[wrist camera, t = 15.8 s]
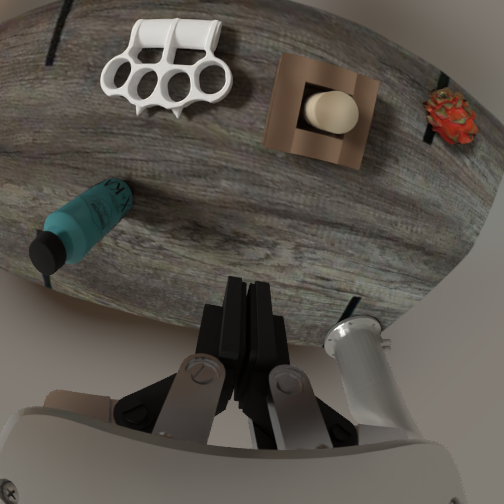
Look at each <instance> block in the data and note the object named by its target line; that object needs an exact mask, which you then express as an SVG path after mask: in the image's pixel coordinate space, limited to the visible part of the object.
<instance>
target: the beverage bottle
mask: <svg viewBox="0 0 504 504" xmlns="http://www.w3.org/2000/svg"><path fill="white" fill-rule="evenodd" d="M90 188H91V187H90ZM85 191H86V190H85ZM80 194H81V193H80ZM74 198H75V197H74ZM131 205H132V193H131V190H130V188H129V187H128V185H127V184H126V183H125V182H123V181H122V180H120V179H117V178H109V179H107V180H104V181H102V182H99V183H97V185H96V186H95V185H94V187H93V186H92V188H91V189H89V190H87V191H86V192H84V193H82V194H81V195H79V196H77V197H76V198H75V199H73V200H72V201H70V202H69V203H67V204H66V205H64V206H63V207H61V208H60V209H58V210H57V211H55V212H53V213H51V214H50V215H49V216H48V217H47V219H46V221H45V224H44V231H43V232H41V233H40V234H39V235H38V236H37V237H36V239H35V240H34V241H33V242H32V243H31V244H30V247H29V256H30V259H31V261H32V263H33V265H34V266H35V268H36V269H37V270H38V271H39V272H41V273H42V274H45V275H52V274H54V273H55V272H56V271H57V270H58V269H60V268H61V267H62V266H63V265H64V264H65V263H68V264H75V263H78V262H79V261H81V260H82V259H83V258H84V256H85V255H86V254H87V253H88V251H89V250H90V249H91V248H92V247H93V246H94V245H95V244H96V243H97V242H99V241H100V240H101V239H102V238H103V237H104V236H105V235H106V234H107V233H109V232H110V231H111V230H112V228H114V227H115V226H116V225H117V224H118V223H119V222H120V221H121V219H122V218H124V217H125V215H126V214H127V213H128V212H130V211H129V210H131V209H130V208H131V207H132V206H131ZM109 230H110V231H109Z"/></svg>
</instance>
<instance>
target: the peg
mask: <svg viewBox="0 0 504 504" xmlns="http://www.w3.org/2000/svg"><path fill="white" fill-rule="evenodd" d="M298 116H299V118H300V120H301V121H302V122H303V123H305V124H306V125H309V126H312V127H314V128H316V129H319V130H325V131H329V132H332V133H336V134H342V133H346V132H348V131H350V130H351V129H352V128H353V127H354V126H355V125H356V123H357V121H358V116H359V112H358V107H357V105H356V103H355V101H354V100H353V98H352V97H350V96H349V95H348V94H346V93H344V92H341V91H330V92H319V93H315V94H313V95H308V96H306V97H304V98H302V101H301V106H300V111H299V115H298Z"/></svg>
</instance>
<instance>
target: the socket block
mask: <svg viewBox="0 0 504 504" xmlns="http://www.w3.org/2000/svg"><path fill="white" fill-rule="evenodd" d="M378 87H379V81H376V80H374V79H371V78H369V77H366V76H363V75H361V74H358V73H355V72H352V71H350V70H347V69H344V68H341V67H338V66H334V65H331V64H328V63H325V62H321V61H318V60H314V59H310V58H306V57H302V56H298V55H294V54H290V53H285V52H284V53H283V54H282V56H281V58H280V59H279V61H278V64H277V69H276V74H275V79H274V84H273V89H272V94H271V99H270V104H269V109H268V114H267V119H266V125H265V130H264V135H263V140H262V144H263V146H264V148H268V149H273V150H278V151H283V152H288V153H293V154H297V155H302V156H307V157H311V158H315V159H319V160H323V161H327V162H331V163H335V164H339V165H343V166H347V167H350V168H354V169H357V170H359V168H360V165H361V161H362V157H363V153H364V149H365V146H366V141H367V137H368V133H369V129H370V125H371V120H372V116H373V111H374V107H375V102H376V97H377V92H378ZM330 91H341V92H344V93H346V94H348V95H349V96H350V97H352V98H353V100H354V101H355V103H356V105H357V107H358V112H359V116H358V121H357V123H356V125H355V126H354V127H353V128H352V129H351V130H350V131H348V132H346V133H342V134H336V133H332V132H329V131H325V130H319V129H316V128H314V127H312V126H309V125H306V124H305V123H303V122H302V121H301V120H300V118H299V116H298V115H299V111H300V106H301V101H302V98H304V97H306V96H308V95H313V94H315V93H319V92H330Z"/></svg>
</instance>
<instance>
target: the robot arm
mask: <svg viewBox="0 0 504 504" xmlns="http://www.w3.org/2000/svg"><path fill="white" fill-rule="evenodd" d="M246 286H247V283H246V282H242V278H238V277H233V276H229V277H228V282H227V286H226V291H225V296H224V301H223V306H222V307H221V306H215V305H210V304H205V306H204V311H203V316H202V321H201V326H200V332H199V336H198V342H197V347H196V352H195V354H193V355H190V356H188V357H187V358H185V359H184V360H183V362H182V363H181V365H180V368H179V370H178V372H177V373H175V374H173V375H171V376H169V377H167V378H165V379H163V380H161V381H159V382H157V383H154V384H152V385H150V386H148V387H146V388H143V389H141V390H139V391H137V392H135V393H132V394H130V395H128V396H125V397H123V398H122V399H120V400H116V399H111V398H110V397H109V396H99V395H92V394H85V393H78V392H72V391H66V390H54V391H52V392H50V393H49V394H48V395H47V396H46V399H45V401H44V406H43V407H40V406H35V407H26V408H22V409H20V410H18V411H17V412H15V413H14V414H13V415H12V416H11V417H10V418H9V420H8V421H7V423H6V424H5V426H4V427H3V429H2V431H1V433H0V504H467V500H466V495H465V491H464V487H463V484H462V480H461V477H460V474H459V471H458V469H457V466H456V463H455V461H454V459H453V457H452V455H451V453H450V452H449V450H448V449H447V448H446V447H445V446H444V445H442V444H440V443H438V442H435V441H431V440H426V439H424V437H423V435H422V432H421V431H420V429H419V427H418V426H417V424H416V422H415V420H414V419H413V417H412V415H411V413H410V411H409V409H408V407H407V405H406V403H405V400H404V398H403V396H402V394H401V391H400V389H399V386H398V384H397V382H396V379H395V377H394V374H393V372H392V369H391V367H390V365H389V363H388V361H387V358H386V356H385V354H389V353H390V351H391V348H390V346H383V345H391V340H390V339H385V340H383V339H382V338H381V336H380V334H381V327H380V324H379V323H378V321H377V320H376V319H375V318H373V317H371V316H367V315H359V316H353V317H350V318H347V319H345V320H343V321H341V322H339V323H338V324H336V325H335V326H334V327H333V328H332V329H331V330H330V331H329V332H328V333H327V335H326V337H325V340H324V347H325V350H326V352H327V353H328V355H329V356H331V357H333V358H336V361H337V365H338V368H339V372H340V375H341V379H342V383H343V386H344V389H345V394H346V397H347V401H348V405H349V409H350V412H351V415H352V416H353V417H354V419H355V420H356V421H358V422H359V423H361V424H358V425H357V426H354V425H353V424H352V423H351V422H350V421H349V420H347V419H346V418H344V417H343V416H342V415H340V414H339V413H338V412H336V411H335V410H333V409H332V408H331V407H329V406H328V405H327V404H325V403H324V402H323V401H321V400H320V399H319V398H317V397H316V396H315V394H314V392H313V389H312V386H311V383H310V381H309V378H308V376H307V375H306V374H305V373H304V372H303V371H302V370H301V369H299V368H298V367H295V366H292V365H290V361H289V353H288V346H287V338H286V331H285V324H284V319H283V317H282V316H276V315H273V314H272V304H271V294H270V285H269V283H266V282H261V281H255V284H252V283H250V285H249V289H248V293H247V297H246ZM233 390H234V401H239V409H243V413H245V414H246V415H247V416H248V417H249V418H248V424H249V429H250V435H251V440H252V445H253V449H243V448H231V447H222V446H213V445H207V441H208V437H209V434H210V430H211V427H212V423H213V419H214V417H215V416H216V415H218V414H219V413H221V412H222V411H224V410H225V409H226V406H227V403H228V400H230V399H231V396H232V393H233Z"/></svg>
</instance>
